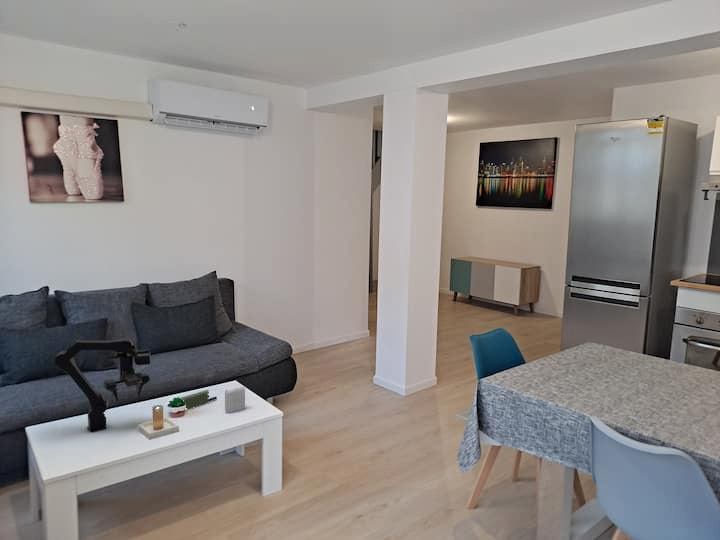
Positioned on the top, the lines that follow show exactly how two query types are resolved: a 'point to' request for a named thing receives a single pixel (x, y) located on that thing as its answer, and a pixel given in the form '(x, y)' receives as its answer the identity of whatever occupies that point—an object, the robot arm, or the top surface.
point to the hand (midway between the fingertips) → (127, 399)
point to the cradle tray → (150, 433)
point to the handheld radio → (197, 399)
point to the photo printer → (234, 398)
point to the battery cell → (158, 417)
